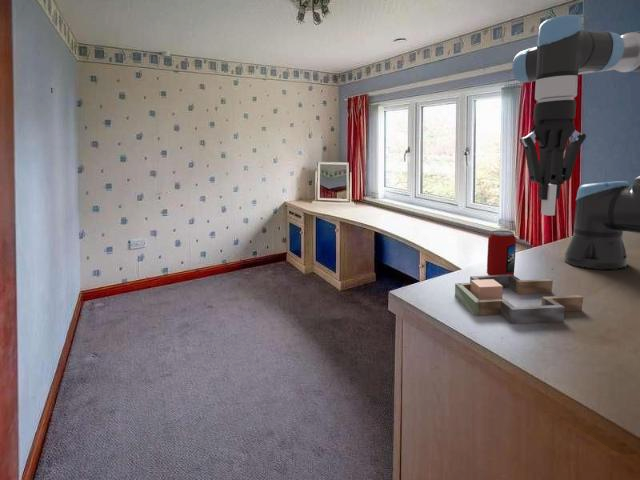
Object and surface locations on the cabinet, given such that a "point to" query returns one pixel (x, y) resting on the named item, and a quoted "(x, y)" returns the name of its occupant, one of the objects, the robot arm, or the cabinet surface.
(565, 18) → the robot arm
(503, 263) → the beverage can
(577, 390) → the cabinet surface
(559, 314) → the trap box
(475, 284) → the block
